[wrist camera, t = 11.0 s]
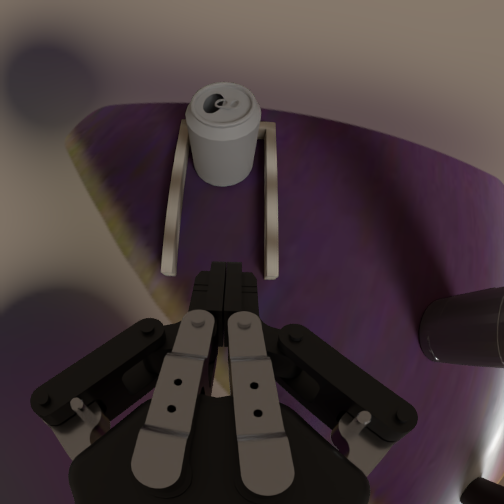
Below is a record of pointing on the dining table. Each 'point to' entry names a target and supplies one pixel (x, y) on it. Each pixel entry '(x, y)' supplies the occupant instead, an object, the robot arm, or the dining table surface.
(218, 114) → the can
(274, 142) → the wooden frame
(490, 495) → the bottle
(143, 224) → the dining table surface
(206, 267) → the dining table surface
